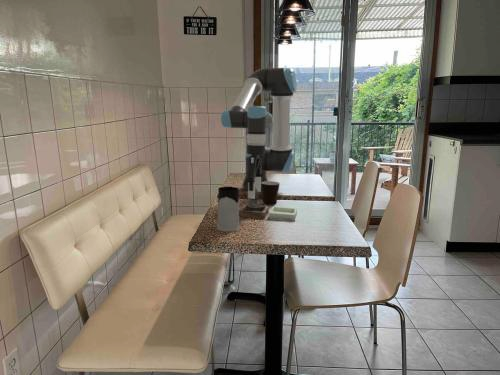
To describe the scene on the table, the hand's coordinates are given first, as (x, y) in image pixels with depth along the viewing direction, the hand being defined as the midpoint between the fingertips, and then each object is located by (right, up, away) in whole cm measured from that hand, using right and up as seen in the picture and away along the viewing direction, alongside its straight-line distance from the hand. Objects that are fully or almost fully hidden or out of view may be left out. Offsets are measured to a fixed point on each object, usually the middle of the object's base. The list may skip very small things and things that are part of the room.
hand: (254, 195), depth 159 cm
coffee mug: (+8, -4, +22) cm, 24 cm away
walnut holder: (0, -8, +2) cm, 8 cm away
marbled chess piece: (0, -8, +2) cm, 9 cm away
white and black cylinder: (-10, -12, -15) cm, 21 cm away
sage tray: (+12, -9, 0) cm, 15 cm away
